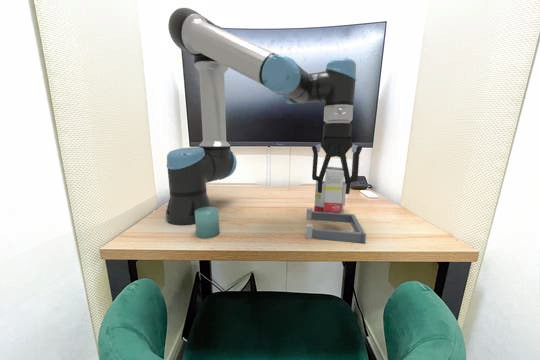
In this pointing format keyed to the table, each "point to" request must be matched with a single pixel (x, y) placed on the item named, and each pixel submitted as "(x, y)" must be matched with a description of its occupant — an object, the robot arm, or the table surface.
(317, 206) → the ink box
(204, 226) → the teal rounded cylinder
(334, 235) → the u-shaped handle bar
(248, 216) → the table surface
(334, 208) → the ink box
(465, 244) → the table surface
